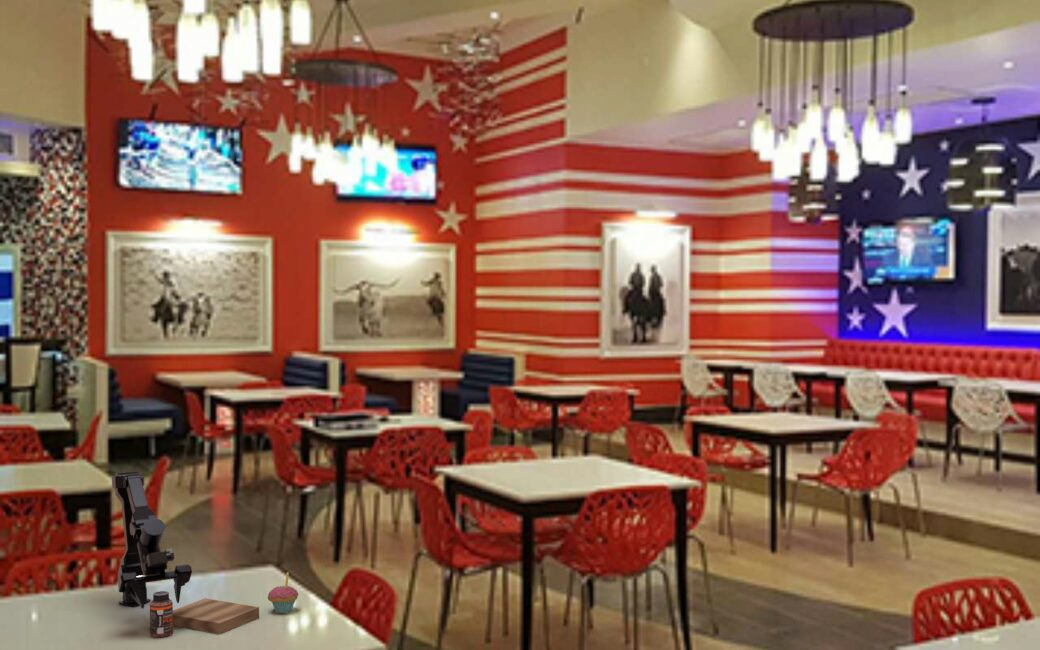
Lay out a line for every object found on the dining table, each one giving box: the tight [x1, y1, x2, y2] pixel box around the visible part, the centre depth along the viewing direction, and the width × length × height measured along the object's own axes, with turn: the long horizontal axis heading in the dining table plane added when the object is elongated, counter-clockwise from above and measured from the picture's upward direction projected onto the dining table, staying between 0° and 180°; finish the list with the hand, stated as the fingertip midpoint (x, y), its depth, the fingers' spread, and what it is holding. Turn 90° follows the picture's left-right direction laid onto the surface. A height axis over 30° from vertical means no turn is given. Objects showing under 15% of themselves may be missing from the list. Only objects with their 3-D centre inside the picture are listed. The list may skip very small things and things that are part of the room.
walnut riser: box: [173, 597, 260, 635], centre depth 300 cm, size 20×16×3 cm
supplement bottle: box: [149, 590, 174, 638], centre depth 289 cm, size 6×6×11 cm
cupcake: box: [267, 572, 299, 614], centre depth 309 cm, size 9×8×12 cm
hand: (160, 605), depth 289 cm, fingers open, 9 cm apart
